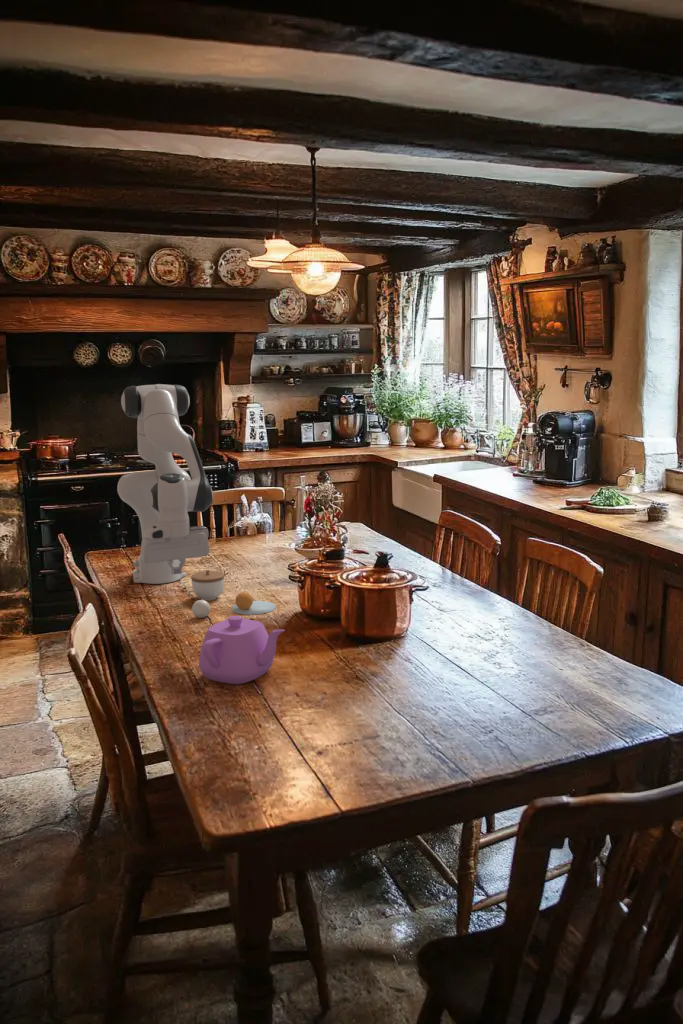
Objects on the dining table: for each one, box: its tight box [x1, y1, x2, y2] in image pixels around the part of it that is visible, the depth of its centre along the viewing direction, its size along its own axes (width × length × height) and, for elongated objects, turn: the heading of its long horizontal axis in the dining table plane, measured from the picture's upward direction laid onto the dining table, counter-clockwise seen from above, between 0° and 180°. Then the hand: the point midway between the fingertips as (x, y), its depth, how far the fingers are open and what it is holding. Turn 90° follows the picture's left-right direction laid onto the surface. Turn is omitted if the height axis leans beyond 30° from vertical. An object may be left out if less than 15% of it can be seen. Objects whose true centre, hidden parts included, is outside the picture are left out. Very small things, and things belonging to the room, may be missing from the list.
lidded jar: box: [191, 569, 225, 601], centre depth 282 cm, size 11×11×9 cm
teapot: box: [198, 615, 286, 685], centre depth 211 cm, size 23×21×15 cm
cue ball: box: [191, 599, 211, 619], centre depth 261 cm, size 6×6×6 cm
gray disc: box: [231, 600, 277, 616], centre depth 271 cm, size 14×14×1 cm
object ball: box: [234, 591, 254, 610], centre depth 269 cm, size 6×6×6 cm
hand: (176, 573), depth 258 cm, fingers closed
